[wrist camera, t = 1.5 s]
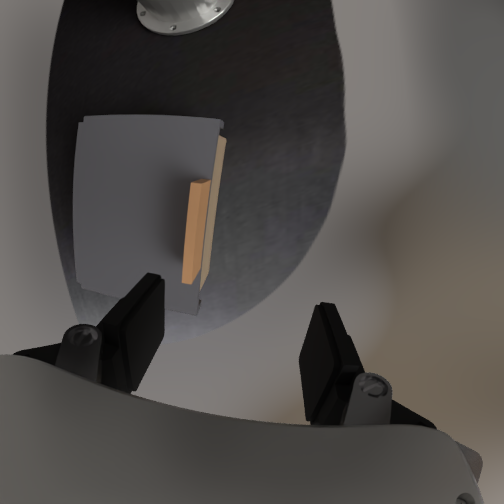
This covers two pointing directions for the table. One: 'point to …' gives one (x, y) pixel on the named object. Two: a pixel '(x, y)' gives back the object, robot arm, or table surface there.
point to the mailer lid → (143, 203)
